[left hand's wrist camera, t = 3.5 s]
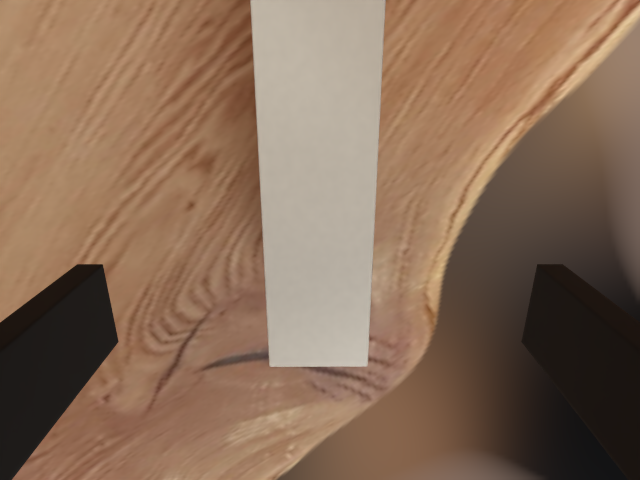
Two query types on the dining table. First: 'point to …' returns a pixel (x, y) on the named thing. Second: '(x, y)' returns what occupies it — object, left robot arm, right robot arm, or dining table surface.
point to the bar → (318, 173)
